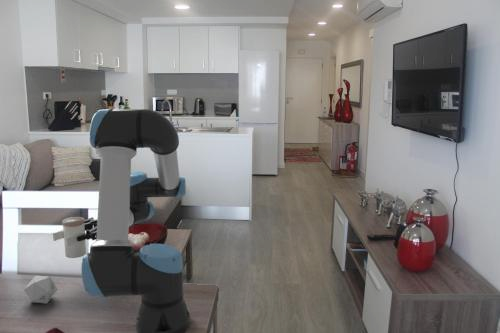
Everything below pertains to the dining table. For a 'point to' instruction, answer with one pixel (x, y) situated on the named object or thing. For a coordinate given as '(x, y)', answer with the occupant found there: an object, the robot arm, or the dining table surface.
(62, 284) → the dining table surface
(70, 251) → the jar
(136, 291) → the robot arm
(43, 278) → the die
